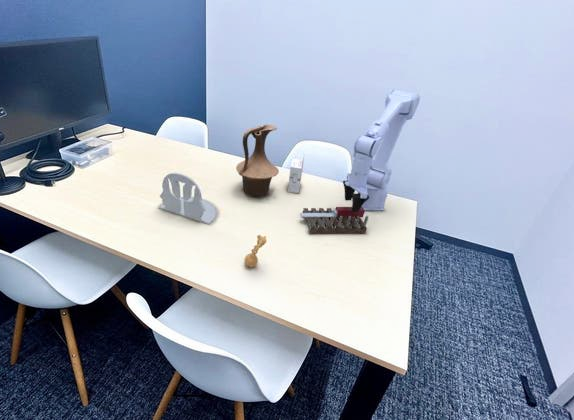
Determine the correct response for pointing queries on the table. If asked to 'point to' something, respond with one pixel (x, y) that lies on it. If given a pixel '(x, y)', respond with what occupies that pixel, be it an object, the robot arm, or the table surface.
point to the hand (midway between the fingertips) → (351, 205)
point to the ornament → (186, 199)
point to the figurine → (255, 252)
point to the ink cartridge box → (295, 175)
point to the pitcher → (257, 164)
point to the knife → (337, 213)
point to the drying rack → (335, 223)
